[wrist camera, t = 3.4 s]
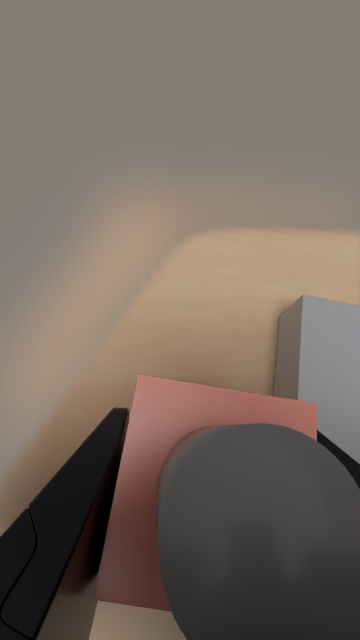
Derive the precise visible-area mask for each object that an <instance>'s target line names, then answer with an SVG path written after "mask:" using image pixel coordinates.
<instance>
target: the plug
mask: <svg viewBox="0 0 360 640" xmlns="http://www.w3.org/2000/svg"><path fill="white" fill-rule="evenodd" d="M93 600H99V601H106V602H112V603H119V604H126V605H132V606H139V607H145V608H152V609H158V610H165V611H171V612H172V614H173V616H174V618H175V620H176V622H177V624H178V626H179V628H180V630H181V631H182V633H183V634H184V635H185V637H186V638H187V640H360V489H359V487H358V485H357V484H356V482H355V480H354V479H353V477H352V476H351V475H350V473H349V472H348V470H347V469H346V468H345V466H344V465H343V464H342V463H341V462H340V461H339V460H338V459H337V458H336V456H334V455H333V454H332V453H331V452H330V451H329V450H328V449H327V448H325V447H324V446H323V445H321V444H320V443H319V442H317V404H316V403H310V402H304V401H298V400H292V399H286V398H280V397H274V396H268V395H262V394H256V393H250V392H244V391H238V390H232V389H226V388H220V387H214V386H208V385H202V384H195V383H189V382H183V381H177V380H171V379H165V378H159V377H153V376H147V375H141V374H138V378H137V383H136V388H135V393H134V398H133V403H132V408H131V413H130V418H129V423H128V428H127V433H126V438H125V443H124V448H123V453H122V458H121V463H120V468H119V473H118V478H117V483H116V488H115V493H114V498H113V503H112V508H111V513H110V518H109V523H108V528H107V533H106V538H105V543H104V548H103V553H102V558H101V563H100V568H99V573H98V578H97V583H96V588H95V593H94V598H93Z"/></svg>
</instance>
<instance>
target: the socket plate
mask: <svg viewBox="0 0 360 640" xmlns="http://www.w3.org/2000/svg"><path fill="white" fill-rule="evenodd" d="M273 396H274V397H280V398H286V399H292V400H298V401H304V402H310V403H316V404H317V430H318V431H320V432H321V433H322V434H323V435H324V436H326V437H327V438H328V439H329V440H331V441H332V442H333V443H334V444H336V445H337V446H338V447H339V448H341V449H342V450H343V451H344V452H346V453H347V454H348V455H349V456H351V457H352V458H353V459H354V460H355V461H357V462H358V463H359V464H360V306H358V305H353V304H348V303H343V302H338V301H333V300H328V299H323V298H318V297H313V296H308V295H302V296H301V297H300V298H299V299H298V300H297V301H296V302H294V303H293V304H292V305H291V306H290V307H289V308H288V309H287V310H286V311H285V312H284V313H283V314H281V315H280V316H279V327H278V339H277V352H276V365H275V378H274V390H273Z"/></svg>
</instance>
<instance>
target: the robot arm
mask: <svg viewBox="0 0 360 640" xmlns="http://www.w3.org/2000/svg"><path fill="white" fill-rule="evenodd" d="M128 423H129V410H128V409H127V408H113V409H112V410H111V411H110V412H109V414H108V415H107V416H106V417H105V418H104V419H103V420H102V422H101V423H100V424H99V425H98V426H97V427H96V428H95V430H94V431H93V432H92V433H91V434H90V435H89V436H88V438H87V439H86V440H85V441H84V442H83V443H82V445H81V446H80V447H79V448H78V449H77V450H76V451H75V453H74V454H73V455H72V456H71V457H70V458H69V459H68V461H67V462H66V463H65V464H64V465H63V466H62V467H61V469H60V470H59V471H58V472H57V473H56V474H55V475H54V477H53V478H52V479H51V480H50V481H49V482H48V483H47V485H46V486H45V487H44V488H43V489H42V490H41V491H40V493H39V494H38V495H37V496H36V497H35V498H34V500H33V501H32V502H31V503H30V504H29V505H28V508H26V509H25V510H24V511H23V512H22V513H21V514H20V515H19V516H18V518H17V519H16V520H15V521H14V522H13V523H12V524H11V526H10V527H9V528H8V529H7V530H6V531H5V532H4V533H3V534H2V535H1V536H0V640H89V636H90V631H91V627H92V623H93V618H94V614H95V610H96V605H97V601H98V600H93V598H94V593H95V588H96V583H97V578H98V573H99V568H100V563H101V558H102V553H103V548H104V543H105V538H106V533H107V528H108V523H109V518H110V513H111V508H112V503H113V498H114V493H115V488H116V483H117V478H118V473H119V468H120V463H121V458H122V453H123V448H124V443H125V438H126V433H127V428H128ZM317 442H319V443H320V444H321V445H323V446H324V447H325V448H327V449H328V450H329V451H330V452H331V453H332V454H333V455H334V456H336V458H337V459H338V460H339V461H340V462H341V463H342V464H343V465H344V466H345V468H346V469H347V470H348V472H349V473H350V475H351V476H352V477H353V479H354V480H355V482H356V484H357V485H358V487H359V489H360V464H359V463H358V462H357V461H355V460H354V459H353V458H352V457H351V456H349V455H348V454H347V453H346V452H344V451H343V450H342V449H341V448H339V447H338V446H337V445H336V444H334V443H333V442H332V441H331V440H329V439H328V438H327V437H326V436H324V435H323V434H322V433H321V432H320V431H318V430H317Z"/></svg>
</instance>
